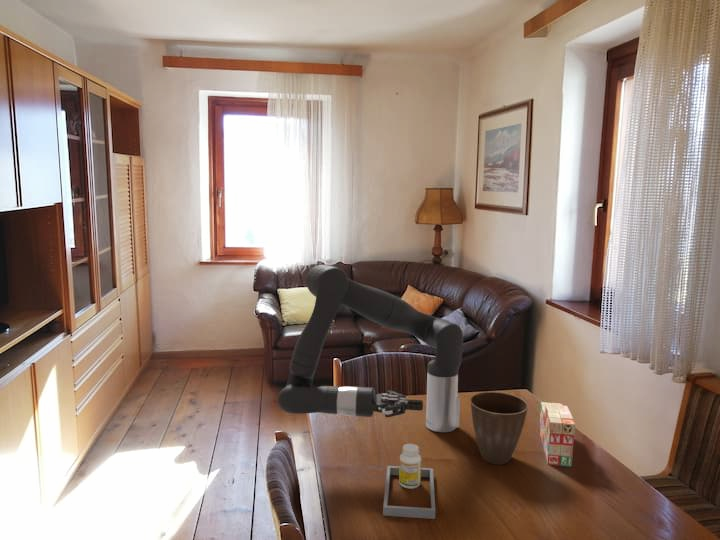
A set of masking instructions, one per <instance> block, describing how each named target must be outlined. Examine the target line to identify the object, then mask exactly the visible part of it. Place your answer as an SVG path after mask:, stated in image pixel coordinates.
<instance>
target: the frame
mask: <svg viewBox="0 0 720 540" xmlns="http://www.w3.org/2000/svg"><path fill="white" fill-rule="evenodd" d="M391 476H399V465H398V466H397V465H396V466H395V465H387V467H386V477H385V486H384V495H383V507H382V516H386V517H398V518H399V517H401V518H403V517H404V518H414V519H417V518H418V519H426V520H427V519H428V520H431V519H432V520H435V519H436V499H435V495H436V494H435V482H434V481H435V479H434V468H430V467H421V478H429V489H430V490H429V491H430V492H429V493H430V494H429V495H430V507H417V506H415V507H414V506H403V505H402V506H399V505H388V503H389V493H390V485H391V484H390V483H391V482H390V479H391Z"/></svg>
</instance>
